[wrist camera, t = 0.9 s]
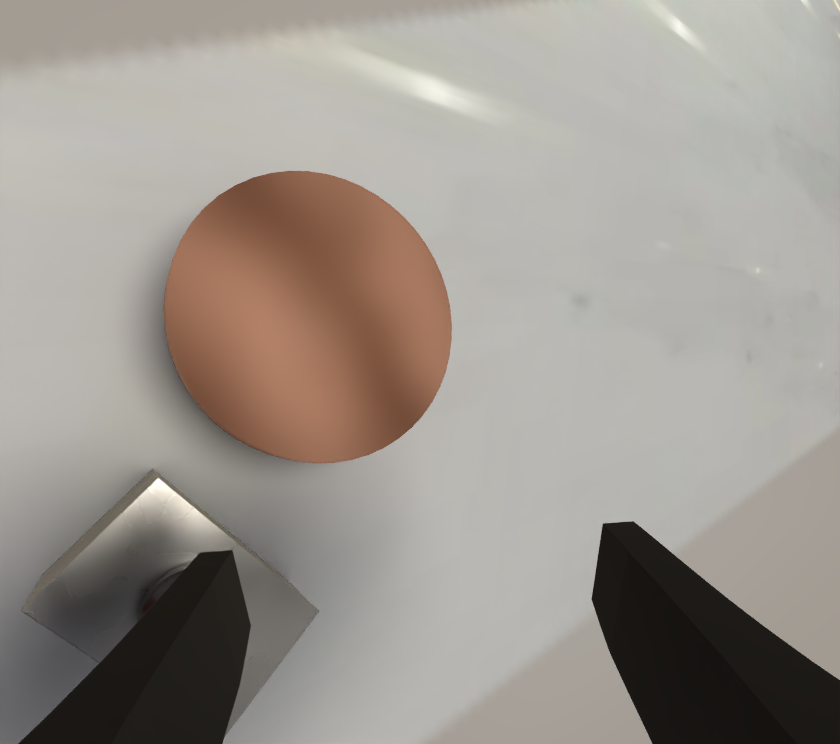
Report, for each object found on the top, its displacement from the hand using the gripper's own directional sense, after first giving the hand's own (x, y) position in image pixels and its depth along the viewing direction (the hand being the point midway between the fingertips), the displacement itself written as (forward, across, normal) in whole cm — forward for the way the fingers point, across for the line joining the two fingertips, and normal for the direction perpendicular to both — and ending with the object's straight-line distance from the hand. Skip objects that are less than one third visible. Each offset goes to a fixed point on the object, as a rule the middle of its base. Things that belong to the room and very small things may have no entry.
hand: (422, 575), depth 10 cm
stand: (+13, +5, 0) cm, 14 cm away
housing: (+7, +9, +7) cm, 13 cm away
